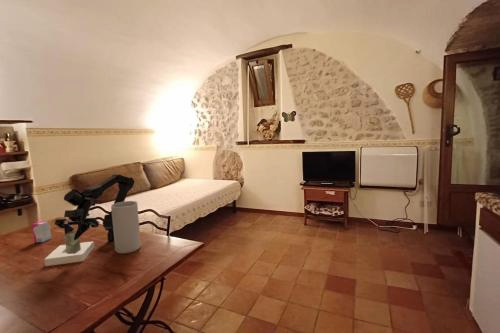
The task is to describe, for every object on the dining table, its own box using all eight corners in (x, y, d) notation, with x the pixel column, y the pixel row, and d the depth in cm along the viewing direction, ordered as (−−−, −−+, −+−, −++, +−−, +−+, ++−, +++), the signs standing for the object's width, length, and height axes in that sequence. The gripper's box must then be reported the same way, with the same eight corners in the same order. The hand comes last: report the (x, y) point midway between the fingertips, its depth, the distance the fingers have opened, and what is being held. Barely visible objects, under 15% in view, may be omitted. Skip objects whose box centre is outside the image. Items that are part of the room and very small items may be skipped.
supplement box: (51, 238, 153) (49, 220, 152) (43, 243, 147) (40, 224, 146) (43, 238, 154) (40, 220, 152) (34, 242, 148) (31, 224, 146)
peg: (80, 249, 123) (78, 231, 122) (75, 253, 119) (72, 234, 118) (72, 249, 123) (70, 231, 122) (66, 253, 119) (64, 234, 118)
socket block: (94, 247, 140) (93, 241, 139) (83, 261, 124) (82, 254, 124) (60, 251, 136) (59, 245, 135) (45, 266, 120) (44, 259, 120)
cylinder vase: (130, 255, 130) (126, 207, 126) (109, 253, 132) (105, 207, 129) (145, 244, 142) (142, 201, 139) (126, 243, 144) (122, 200, 141)
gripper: (54, 203, 122) (38, 233, 113) (92, 202, 122) (80, 232, 113) (68, 213, 131) (54, 242, 122) (103, 212, 131) (93, 241, 122)
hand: (70, 240), depth 119 cm, fingers closed on peg, 4 cm apart
